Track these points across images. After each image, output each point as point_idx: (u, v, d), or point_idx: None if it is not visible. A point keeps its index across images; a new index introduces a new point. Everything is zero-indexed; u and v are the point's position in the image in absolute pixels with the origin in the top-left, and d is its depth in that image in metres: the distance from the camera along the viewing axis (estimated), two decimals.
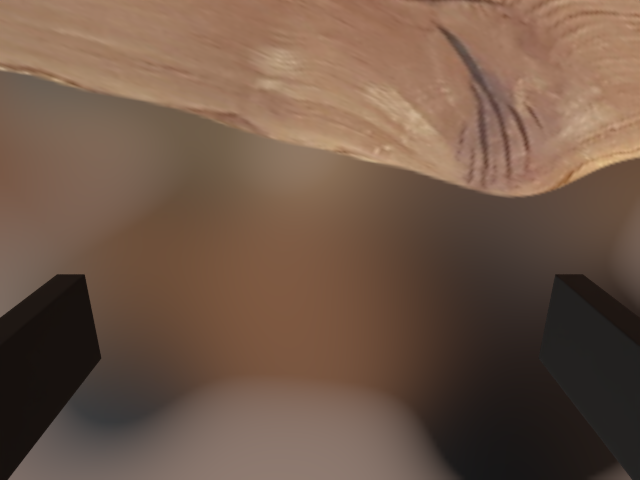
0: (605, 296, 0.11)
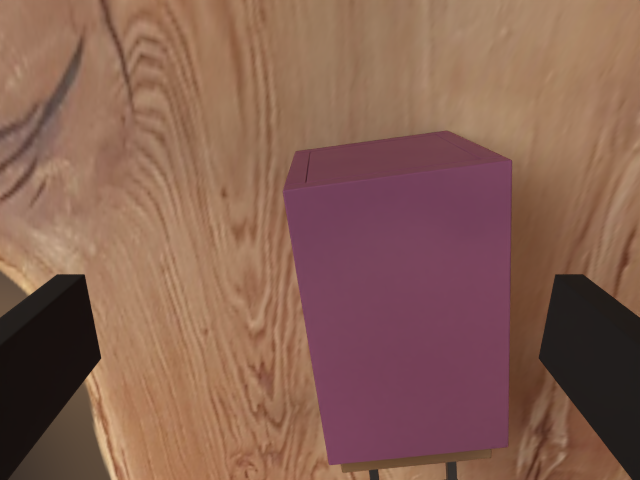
0: (605, 296, 0.11)
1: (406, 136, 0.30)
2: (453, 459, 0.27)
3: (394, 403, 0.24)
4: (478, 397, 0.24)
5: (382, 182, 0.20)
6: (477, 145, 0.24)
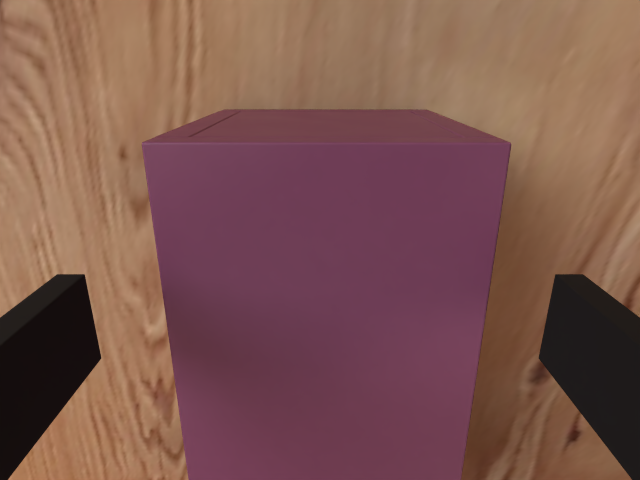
0: (605, 296, 0.11)
1: None
2: None
3: None
4: None
5: (303, 151, 0.12)
6: (462, 124, 0.16)
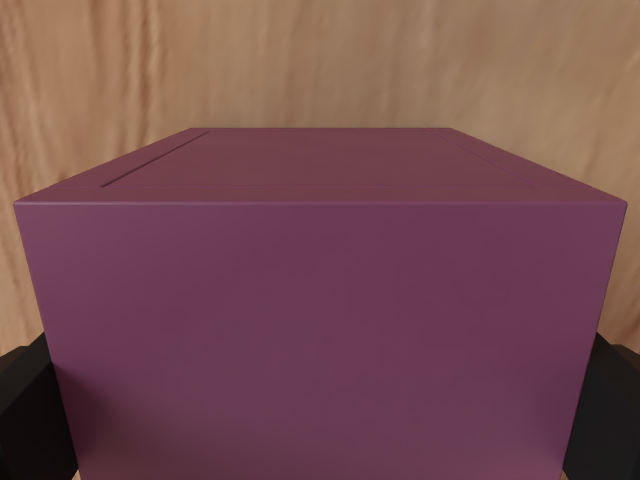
0: None
1: (381, 128, 0.17)
2: None
3: None
4: None
5: (282, 216, 0.07)
6: (516, 156, 0.11)
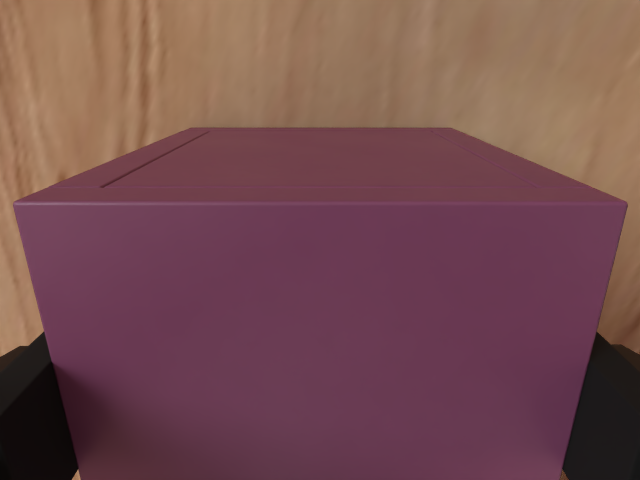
0: None
1: (381, 128, 0.17)
2: None
3: None
4: None
5: (281, 216, 0.08)
6: (516, 156, 0.11)
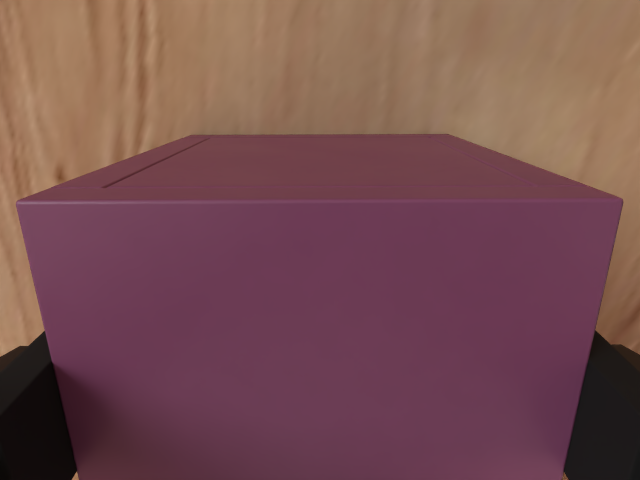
0: None
1: (379, 134, 0.18)
2: None
3: None
4: None
5: (282, 214, 0.08)
6: (513, 159, 0.12)
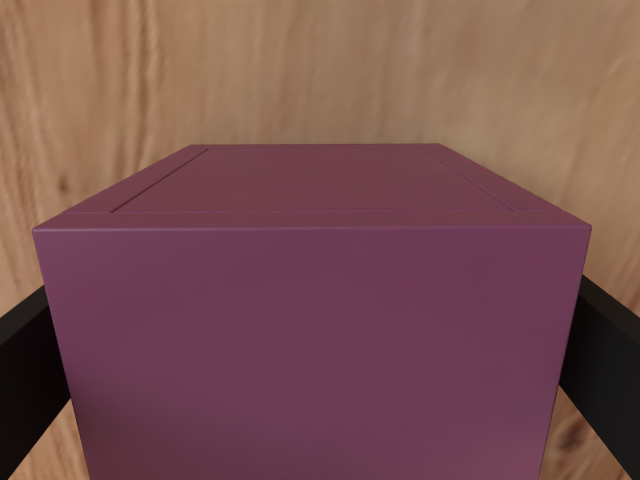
0: (605, 296, 0.11)
1: (373, 144, 0.18)
2: None
3: None
4: None
5: (277, 240, 0.08)
6: (497, 176, 0.12)
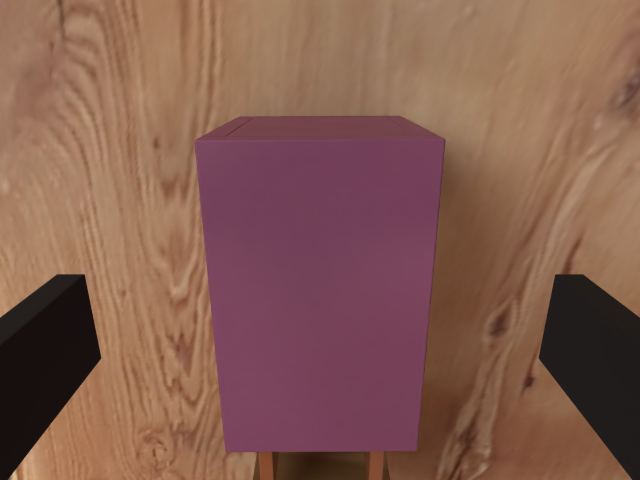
0: (605, 296, 0.11)
1: (357, 116, 0.28)
2: None
3: (299, 392, 0.23)
4: (389, 394, 0.23)
5: (304, 145, 0.18)
6: (420, 127, 0.22)
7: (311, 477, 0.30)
